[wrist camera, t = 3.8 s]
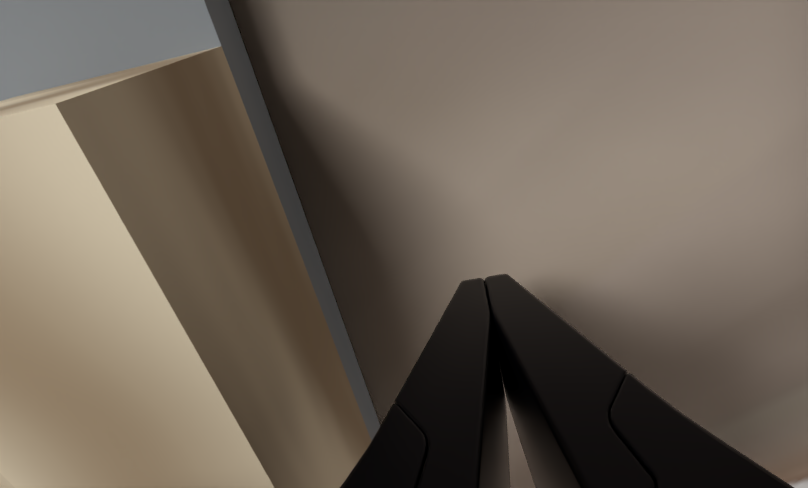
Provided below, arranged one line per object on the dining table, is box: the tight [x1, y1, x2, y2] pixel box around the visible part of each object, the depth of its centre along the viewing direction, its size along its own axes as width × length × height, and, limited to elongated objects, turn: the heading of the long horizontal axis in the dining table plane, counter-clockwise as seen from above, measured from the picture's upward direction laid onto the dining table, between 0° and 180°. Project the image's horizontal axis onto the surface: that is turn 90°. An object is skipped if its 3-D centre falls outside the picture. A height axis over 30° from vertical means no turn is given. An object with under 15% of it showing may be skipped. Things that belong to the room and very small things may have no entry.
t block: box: [0, 46, 371, 488], centre depth 9 cm, size 8×10×4 cm
